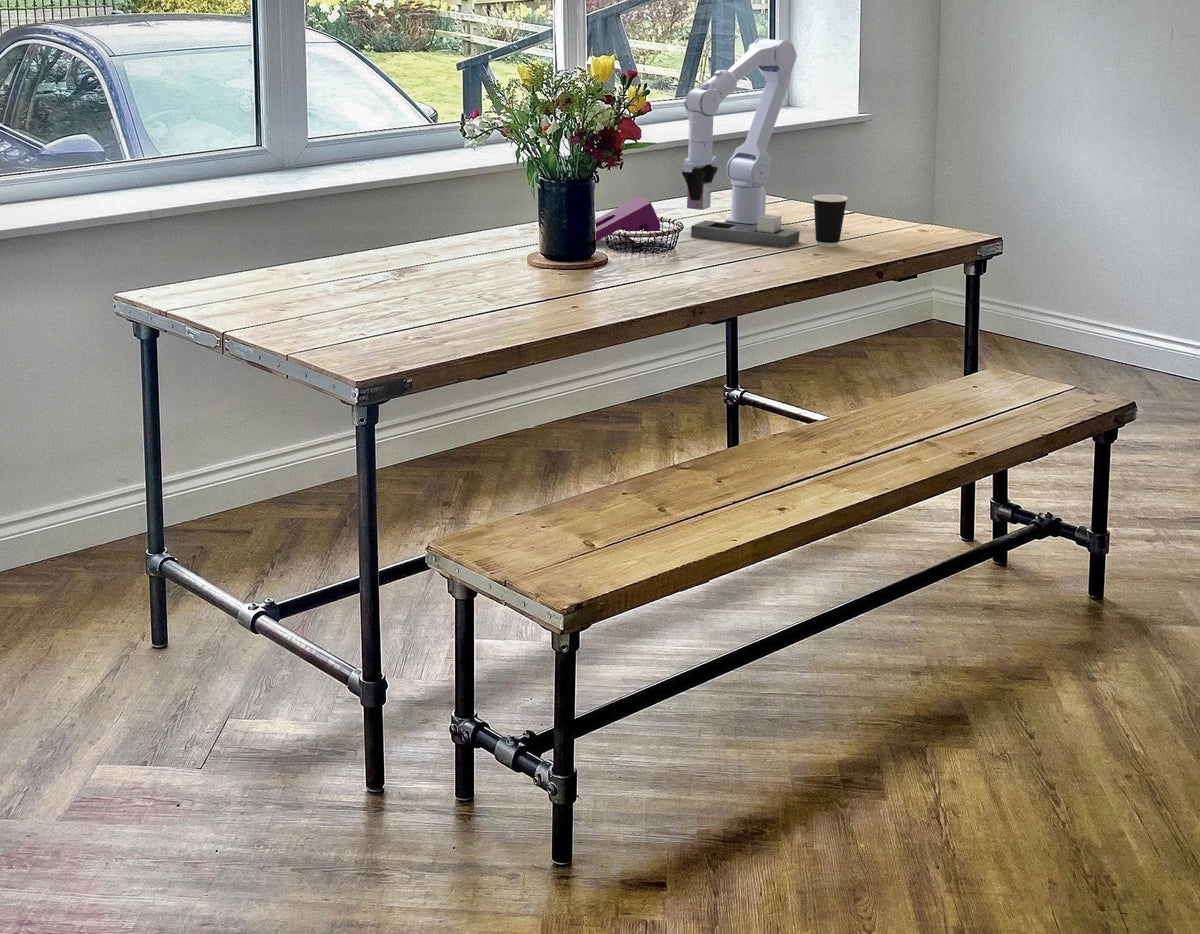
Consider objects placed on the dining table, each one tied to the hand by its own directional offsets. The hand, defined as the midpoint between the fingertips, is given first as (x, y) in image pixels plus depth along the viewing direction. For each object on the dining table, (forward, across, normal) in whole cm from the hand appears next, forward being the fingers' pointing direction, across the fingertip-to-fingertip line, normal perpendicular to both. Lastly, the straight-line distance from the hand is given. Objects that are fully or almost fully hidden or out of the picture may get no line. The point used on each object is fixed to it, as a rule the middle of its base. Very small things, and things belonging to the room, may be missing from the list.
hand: (699, 198), depth 345 cm
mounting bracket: (+8, +23, -10) cm, 27 cm away
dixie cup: (+8, +2, +34) cm, 35 cm away
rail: (+7, +6, +15) cm, 18 cm away
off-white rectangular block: (+7, +6, +21) cm, 23 cm away
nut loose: (+2, 0, 0) cm, 2 cm away
